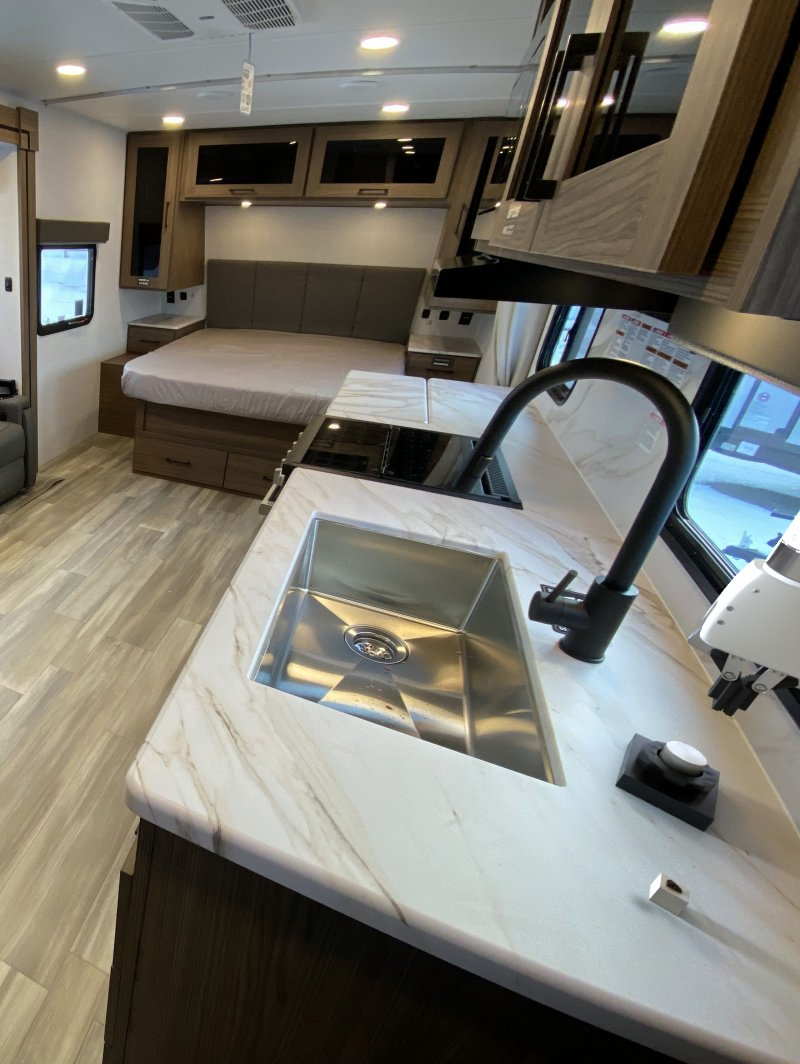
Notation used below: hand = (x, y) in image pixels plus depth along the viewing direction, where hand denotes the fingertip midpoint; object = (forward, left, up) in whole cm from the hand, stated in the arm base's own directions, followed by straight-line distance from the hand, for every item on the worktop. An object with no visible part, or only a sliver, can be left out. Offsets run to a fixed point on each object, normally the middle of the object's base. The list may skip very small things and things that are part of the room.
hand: (721, 706), depth 65 cm
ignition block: (0, 0, -13) cm, 13 cm away
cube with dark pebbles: (+6, +18, -13) cm, 23 cm away
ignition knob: (0, 0, -10) cm, 10 cm away
